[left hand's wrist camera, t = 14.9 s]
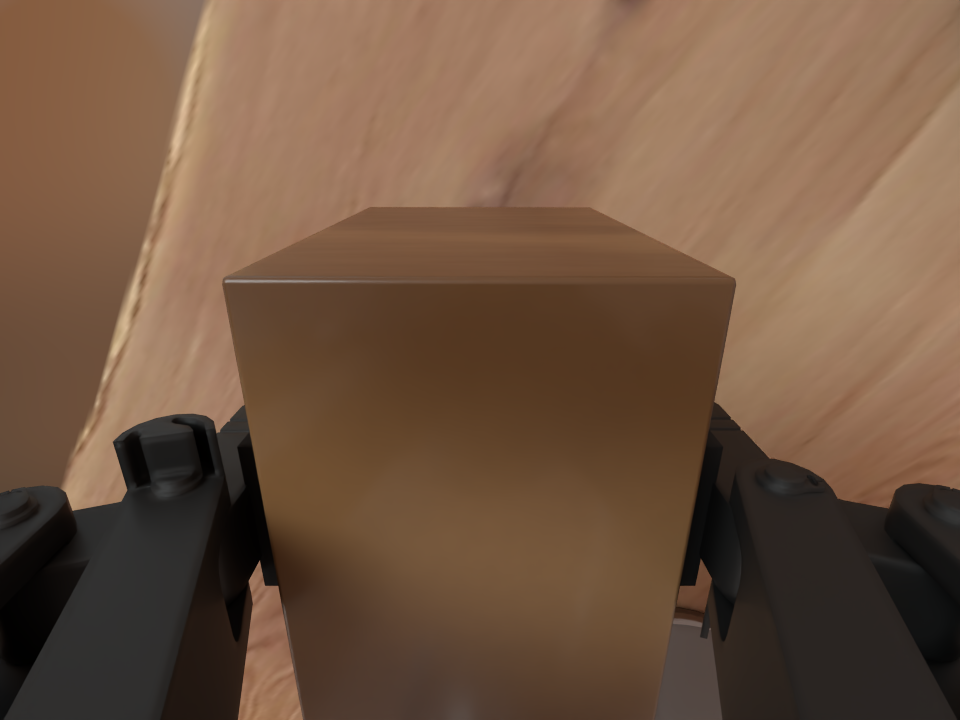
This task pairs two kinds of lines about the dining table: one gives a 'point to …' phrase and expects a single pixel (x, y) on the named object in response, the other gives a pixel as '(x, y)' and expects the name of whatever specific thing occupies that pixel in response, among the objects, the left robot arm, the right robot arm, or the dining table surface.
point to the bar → (479, 456)
